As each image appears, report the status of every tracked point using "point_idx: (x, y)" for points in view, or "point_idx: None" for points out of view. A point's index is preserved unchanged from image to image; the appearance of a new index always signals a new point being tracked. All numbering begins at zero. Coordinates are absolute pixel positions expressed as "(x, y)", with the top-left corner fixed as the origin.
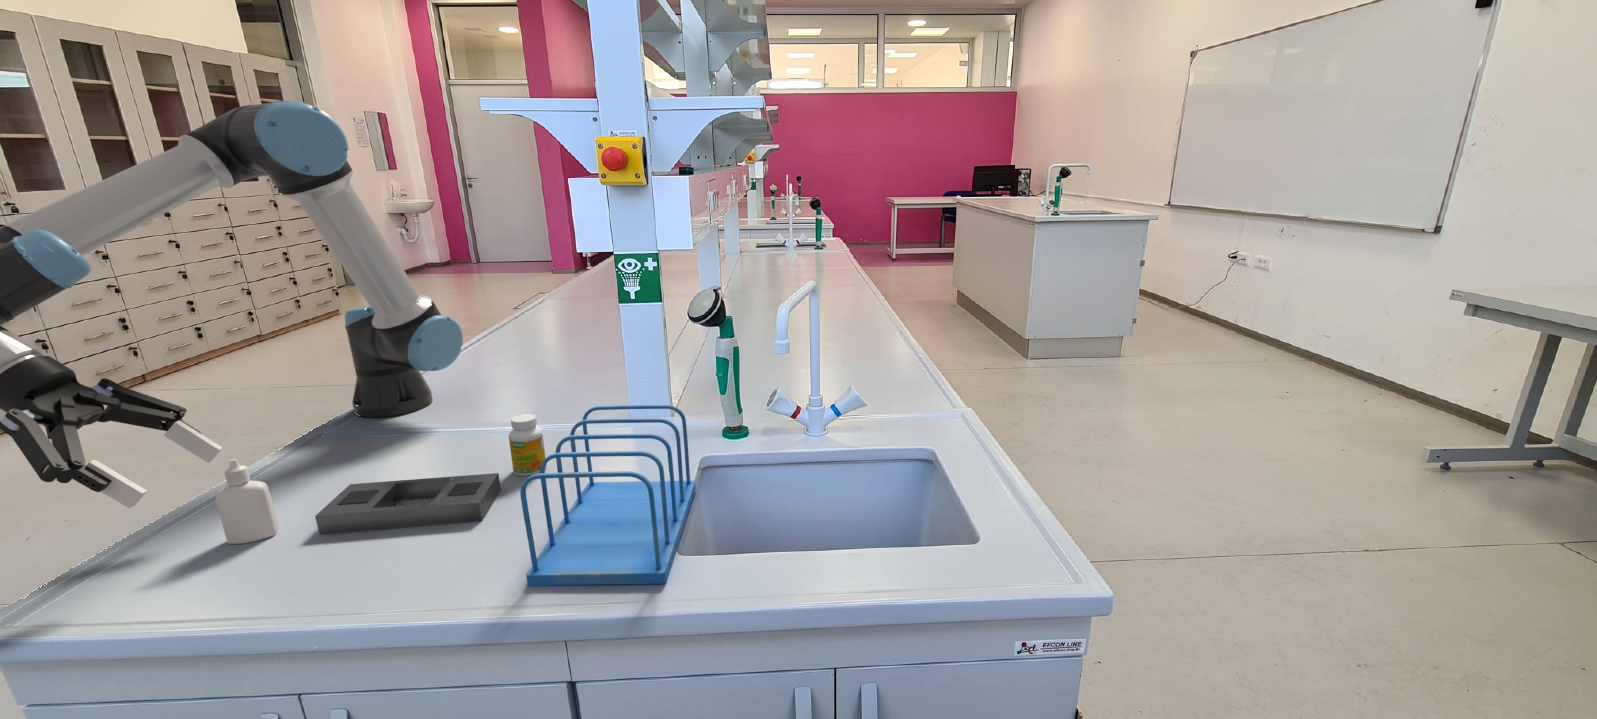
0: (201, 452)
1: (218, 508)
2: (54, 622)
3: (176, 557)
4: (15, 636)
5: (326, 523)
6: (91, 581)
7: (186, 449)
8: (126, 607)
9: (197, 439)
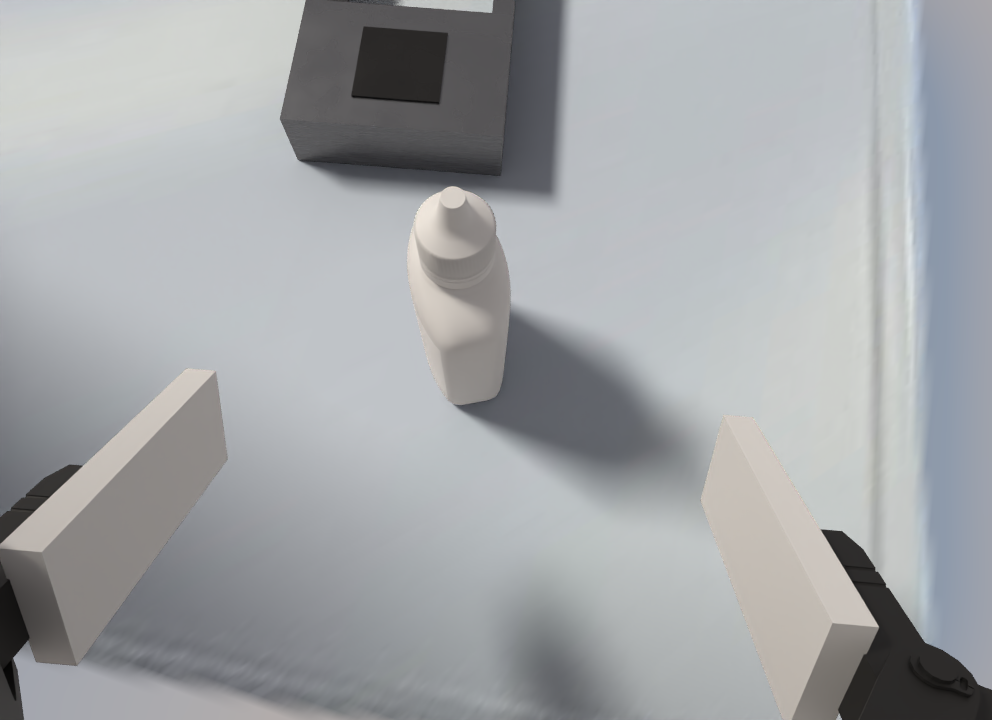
0: (198, 464)
1: (501, 355)
2: None
3: (542, 517)
4: None
5: (503, 133)
6: (645, 707)
7: (168, 539)
8: (805, 487)
9: (156, 453)
